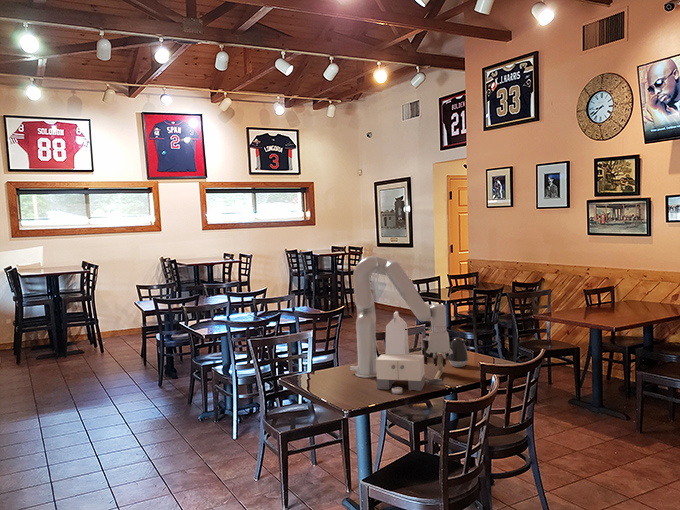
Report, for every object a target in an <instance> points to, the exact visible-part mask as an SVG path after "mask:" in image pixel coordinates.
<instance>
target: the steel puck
mask: <svg viewBox="0 0 680 510" xmlns="http://www.w3.org/2000/svg"><path fill="white" fill-rule="evenodd" d="M403 392H404V390H403V387H400V386H393V387H391V394H393V395H401V394H403Z"/></svg>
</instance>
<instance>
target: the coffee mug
mask: <svg viewBox="0 0 680 510" xmlns="http://www.w3.org/2000/svg"><path fill="white" fill-rule="evenodd" d="M422 343H423V351H424V358H425V357H426V358H429V359H430V358H433V357H432V356H431V355H430V354H428V353H426V351H427V349H428V347H429V337H424V338H422ZM436 357H438V353H436Z"/></svg>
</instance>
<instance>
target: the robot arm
mask: <svg viewBox="0 0 680 510" xmlns="http://www.w3.org/2000/svg"><path fill="white" fill-rule="evenodd" d="M372 274H377V275H383V276H386V277H387V279H388V280H389V281H390V282H391V284H392V285H393V286H394V288H395V289H396V291H397V292H398V294H399V295H400V297H401V298H402V299H403V301H405V303H406V305H407V306H408V308H409V309H410V310H411V312H412V313H413V315H414V316H415V317H416V318H417V320H418V321H421V322H426V321H429V319H430V326H428V327H427V329H428V330H430V332H429V334H428V335H429V336H428V338H429V347H428V349H427V351H426V353H428V354H430V355H431V356H432V358H433V365H434V367H437V366H438V356H436V353H437V354H438V353H442V361H443V367H445V366H446V365H447V358H448V356H449V355H450V354H452V353H453V351H452V349H451V347H450V345H451V341H450V336H449V332H448V331H447V307H446V305H445V304H442V303H441V304H438V303H436V304H434V303H433V304H426V302H425V301H424V300H423V298H422V297H421V295H420V293H419V292H418V289H417V288H416V286H415V284H414V283H413V281H412V280H411V278H410V277H409V275H408V274H407V273H406V272H405V270H404V268H403V267H402V266H401V264H400V263H399V261H397V260H393V259H389V258H383V257H378V256H374V255H369V256H366V257H364V258H363V259H361V260H360V261H359V262H358V263H357V264H356V265H355V267H354V270H353V274H352V279H353V293H354V294H353V295H354V304H355V306H356V315H357V317H356V321H355V329H356V345H357V349H356V350H357V365H350V366H349V367H350V368H349V369H350V371H354V372H355V374H354V375H355V377H359V378H365V379H367V378H368V379H369V378H370V379H371V378H377V371H376V359H377V358H378V357H377V356H378V355H377V337H376V324H377V323H376V322H377V317H376V315H377V314H376V307H375V299H374V298H375V297H374V295H373V293H372V288H371V287H372V286H371V275H372Z"/></svg>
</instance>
